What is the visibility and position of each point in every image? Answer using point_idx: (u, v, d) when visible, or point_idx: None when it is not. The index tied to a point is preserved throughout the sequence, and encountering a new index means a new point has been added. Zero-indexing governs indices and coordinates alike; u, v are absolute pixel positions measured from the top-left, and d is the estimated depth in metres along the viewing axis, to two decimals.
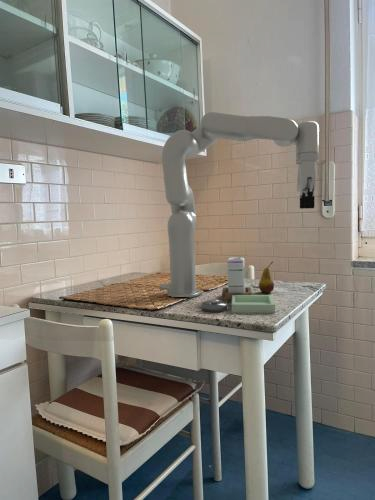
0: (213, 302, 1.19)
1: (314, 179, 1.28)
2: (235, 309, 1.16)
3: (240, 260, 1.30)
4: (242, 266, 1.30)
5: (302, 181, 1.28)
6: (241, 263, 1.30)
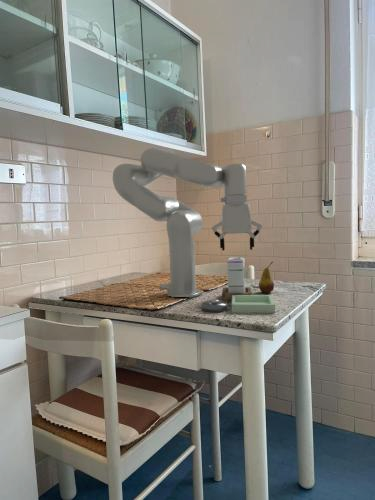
0: (213, 302, 1.19)
1: None
2: (235, 309, 1.16)
3: (240, 260, 1.30)
4: (242, 266, 1.30)
5: (250, 223, 1.29)
6: (241, 263, 1.30)
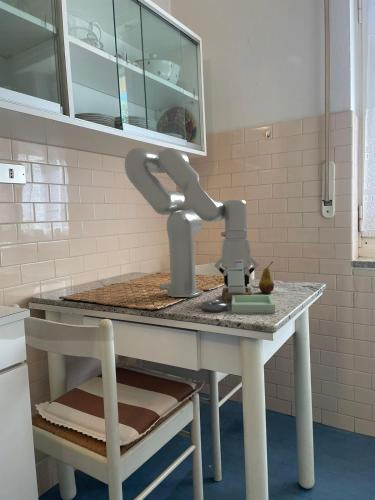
0: (213, 302, 1.19)
1: None
2: (235, 309, 1.16)
3: (240, 260, 1.30)
4: (242, 266, 1.30)
5: (250, 258, 1.30)
6: (241, 263, 1.30)
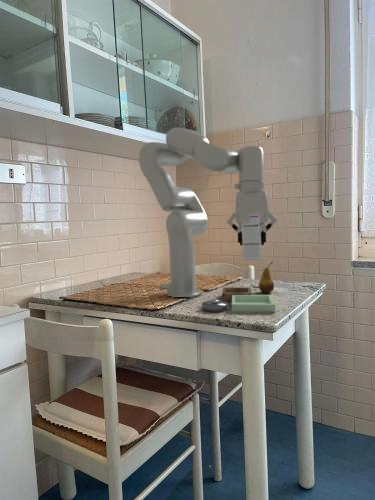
0: (213, 302, 1.19)
1: None
2: (235, 309, 1.16)
3: (256, 214, 1.16)
4: (258, 221, 1.16)
5: (267, 212, 1.16)
6: (257, 217, 1.16)
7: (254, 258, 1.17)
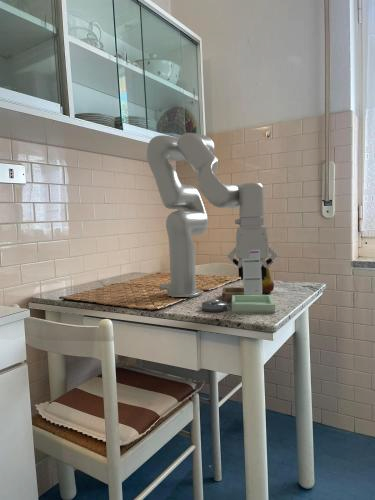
0: (213, 302, 1.19)
1: None
2: (235, 309, 1.16)
3: (256, 250, 1.17)
4: (259, 256, 1.17)
5: (267, 248, 1.17)
6: (257, 253, 1.17)
7: (255, 293, 1.18)
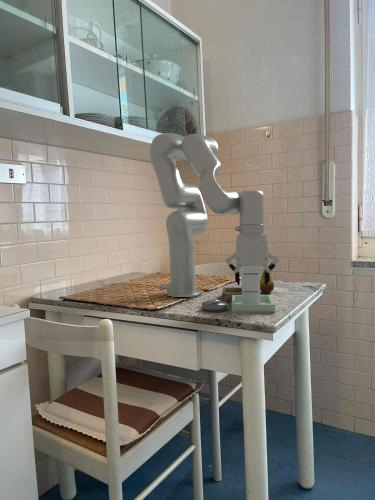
0: (213, 302, 1.19)
1: None
2: (235, 309, 1.16)
3: None
4: (258, 269, 1.18)
5: (267, 255, 1.17)
6: (257, 266, 1.18)
7: None
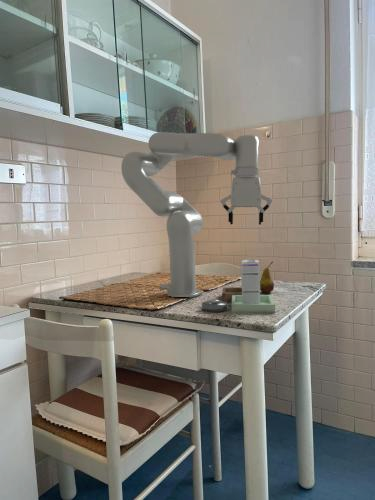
0: (213, 302, 1.19)
1: None
2: (235, 309, 1.16)
3: (256, 263, 1.18)
4: (258, 270, 1.18)
5: (260, 197, 1.26)
6: (257, 266, 1.18)
7: None
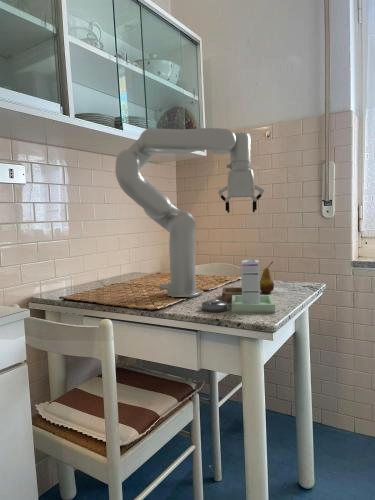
0: (213, 302, 1.19)
1: None
2: (235, 309, 1.16)
3: (256, 263, 1.18)
4: (258, 269, 1.18)
5: (253, 187, 1.41)
6: (257, 266, 1.18)
7: None
